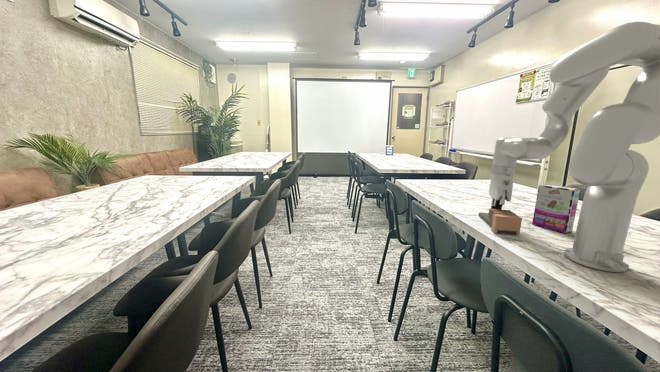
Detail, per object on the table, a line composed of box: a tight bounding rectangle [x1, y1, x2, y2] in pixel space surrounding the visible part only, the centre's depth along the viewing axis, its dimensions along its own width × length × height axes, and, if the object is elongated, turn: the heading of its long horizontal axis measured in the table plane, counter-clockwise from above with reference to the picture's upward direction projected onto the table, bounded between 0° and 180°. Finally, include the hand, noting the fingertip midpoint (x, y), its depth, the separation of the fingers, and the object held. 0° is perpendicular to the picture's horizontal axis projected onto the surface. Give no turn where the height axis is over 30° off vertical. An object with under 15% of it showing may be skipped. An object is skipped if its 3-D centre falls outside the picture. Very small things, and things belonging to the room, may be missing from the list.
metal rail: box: [478, 212, 517, 236], centre depth 102 cm, size 22×6×2 cm, turn 166°
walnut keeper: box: [488, 208, 518, 224], centre depth 96 cm, size 6×7×5 cm
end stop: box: [490, 214, 523, 237], centre depth 92 cm, size 3×8×6 cm, turn 76°
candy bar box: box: [532, 184, 581, 234], centre depth 97 cm, size 11×5×16 cm, turn 25°
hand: (494, 215), depth 102 cm, fingers closed
